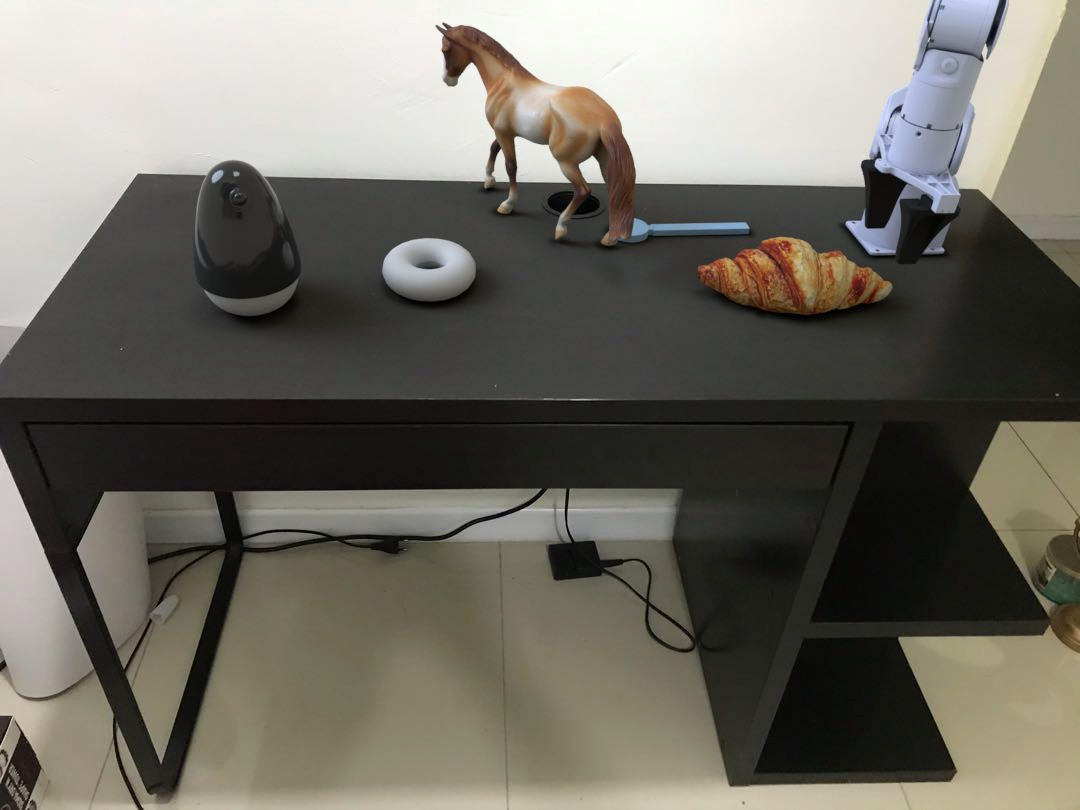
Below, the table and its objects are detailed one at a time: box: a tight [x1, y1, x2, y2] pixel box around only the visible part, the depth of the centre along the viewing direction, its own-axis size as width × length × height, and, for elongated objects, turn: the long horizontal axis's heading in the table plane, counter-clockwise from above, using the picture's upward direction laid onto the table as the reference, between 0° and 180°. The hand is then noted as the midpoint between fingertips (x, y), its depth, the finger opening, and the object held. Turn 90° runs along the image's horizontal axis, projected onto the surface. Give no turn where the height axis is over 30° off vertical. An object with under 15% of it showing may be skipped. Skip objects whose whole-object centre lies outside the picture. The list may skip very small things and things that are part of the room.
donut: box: [381, 237, 477, 302], centre depth 97 cm, size 10×4×10 cm
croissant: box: [696, 236, 893, 316], centre depth 98 cm, size 21×10×8 cm, turn 90°
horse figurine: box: [435, 21, 637, 247], centre depth 103 cm, size 31×8×21 cm, turn 45°
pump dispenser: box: [192, 159, 303, 317], centre depth 89 cm, size 10×10×15 cm
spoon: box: [618, 218, 751, 244], centre depth 110 cm, size 17×5×1 cm, turn 98°
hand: (889, 244), depth 96 cm, fingers open, 7 cm apart
